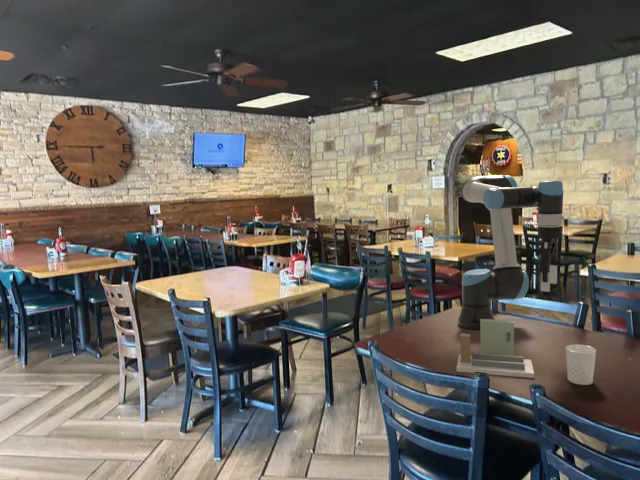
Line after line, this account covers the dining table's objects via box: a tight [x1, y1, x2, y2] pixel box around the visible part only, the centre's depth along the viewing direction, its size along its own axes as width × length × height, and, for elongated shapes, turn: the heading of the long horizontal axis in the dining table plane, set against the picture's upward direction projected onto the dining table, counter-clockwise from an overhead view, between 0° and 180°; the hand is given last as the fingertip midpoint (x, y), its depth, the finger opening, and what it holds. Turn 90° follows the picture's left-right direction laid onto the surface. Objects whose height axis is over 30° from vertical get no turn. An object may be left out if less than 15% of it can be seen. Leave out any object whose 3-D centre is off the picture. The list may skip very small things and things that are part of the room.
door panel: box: [479, 319, 515, 356], centre depth 171 cm, size 11×4×12 cm, turn 71°
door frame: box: [456, 332, 535, 379], centre depth 158 cm, size 23×12×10 cm, turn 71°
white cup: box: [565, 343, 597, 386], centre depth 146 cm, size 8×8×10 cm
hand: (549, 287), depth 168 cm, fingers open, 13 cm apart
